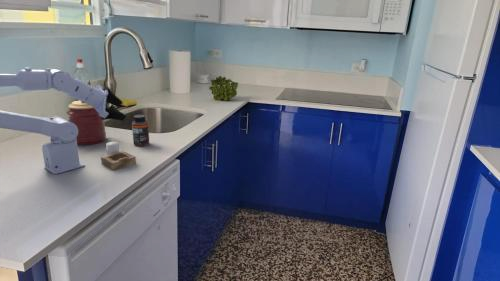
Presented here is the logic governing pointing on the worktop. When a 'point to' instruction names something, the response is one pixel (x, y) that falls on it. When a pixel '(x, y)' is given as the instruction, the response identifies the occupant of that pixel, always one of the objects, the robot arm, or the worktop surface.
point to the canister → (86, 123)
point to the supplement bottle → (140, 131)
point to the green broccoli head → (223, 88)
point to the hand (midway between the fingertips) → (122, 111)
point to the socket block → (118, 160)
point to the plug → (112, 147)
